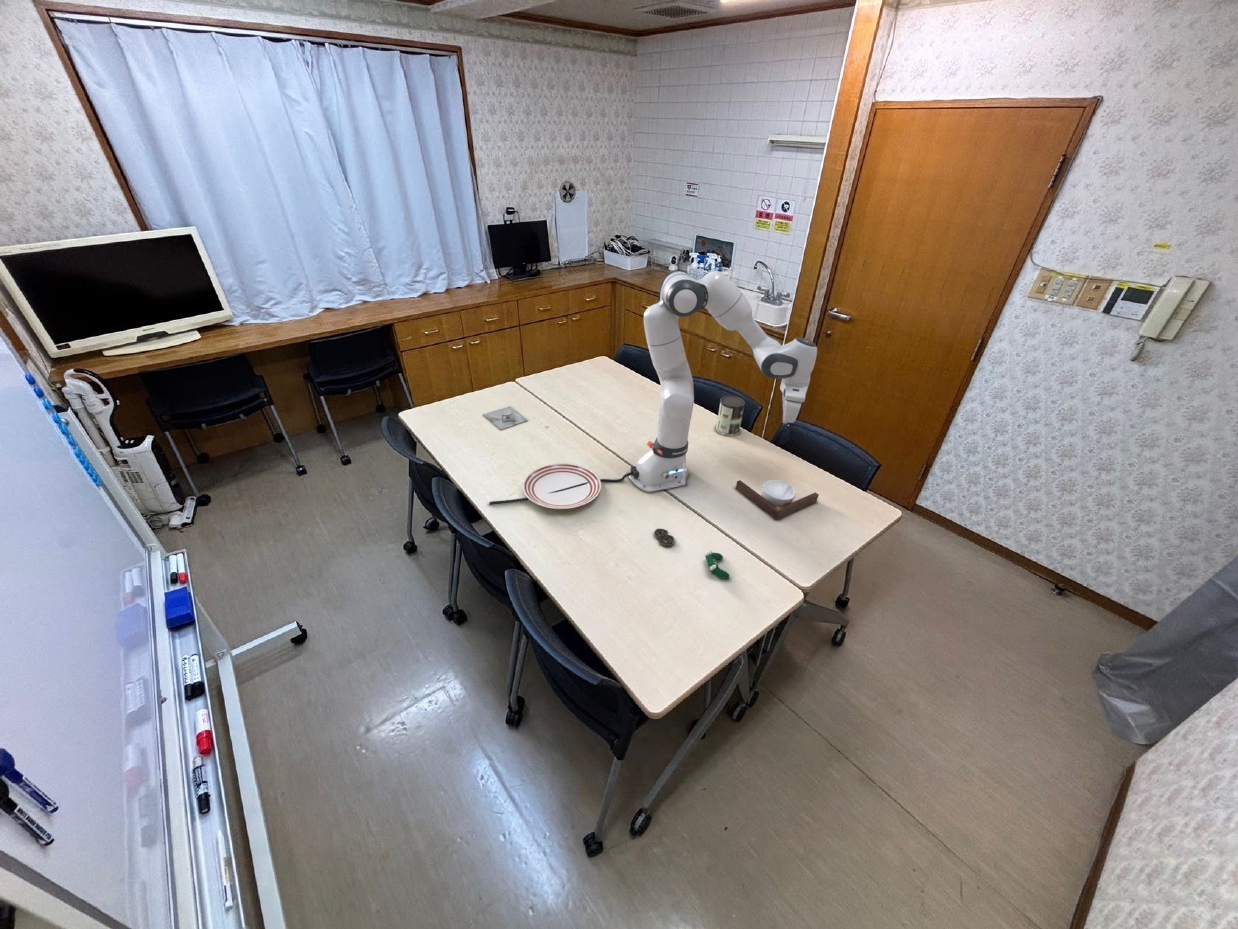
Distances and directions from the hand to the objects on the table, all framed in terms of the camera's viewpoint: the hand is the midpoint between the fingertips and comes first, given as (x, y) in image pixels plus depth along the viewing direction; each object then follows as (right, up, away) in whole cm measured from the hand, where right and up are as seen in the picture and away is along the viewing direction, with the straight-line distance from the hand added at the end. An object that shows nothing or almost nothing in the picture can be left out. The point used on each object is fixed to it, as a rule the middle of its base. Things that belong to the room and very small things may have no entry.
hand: (784, 421), depth 177 cm
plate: (-79, -25, 0) cm, 83 cm away
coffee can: (-12, 0, +40) cm, 42 cm away
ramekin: (-3, -28, -1) cm, 29 cm away
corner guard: (-3, -26, +2) cm, 27 cm away
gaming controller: (-30, -46, -29) cm, 62 cm away
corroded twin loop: (-45, -39, -19) cm, 62 cm away
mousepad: (-104, +3, +40) cm, 112 cm away
